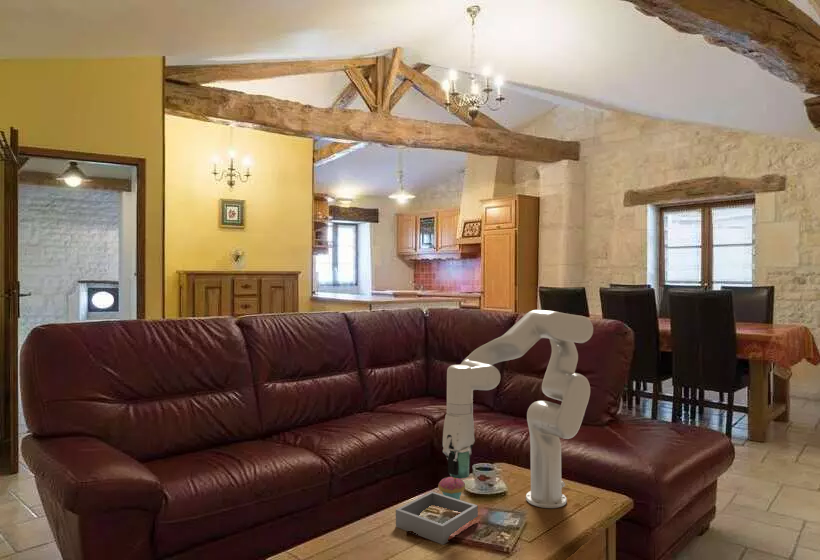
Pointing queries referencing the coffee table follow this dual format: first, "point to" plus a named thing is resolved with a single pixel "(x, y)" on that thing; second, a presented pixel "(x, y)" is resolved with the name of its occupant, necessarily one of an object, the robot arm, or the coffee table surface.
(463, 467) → the tea tin
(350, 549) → the coffee table surface
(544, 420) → the robot arm
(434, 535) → the bin
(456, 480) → the cupcake
